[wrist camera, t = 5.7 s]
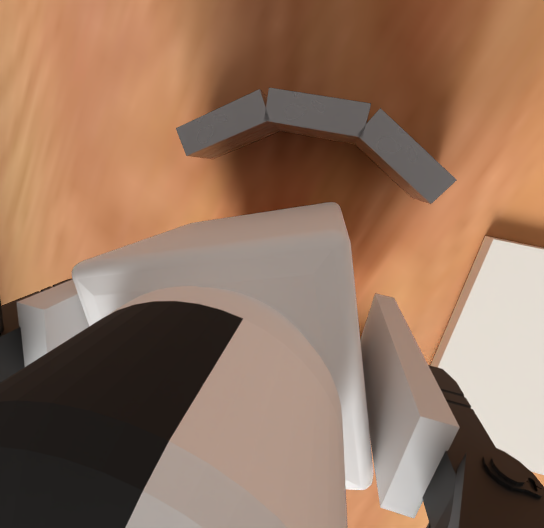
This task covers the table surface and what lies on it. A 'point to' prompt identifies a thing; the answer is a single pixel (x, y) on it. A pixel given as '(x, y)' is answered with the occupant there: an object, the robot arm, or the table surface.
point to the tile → (502, 347)
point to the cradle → (318, 134)
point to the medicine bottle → (198, 385)
